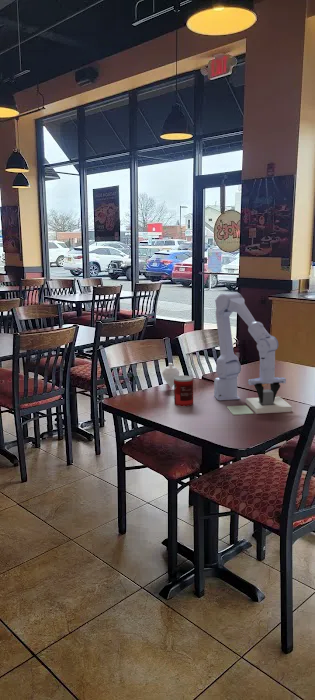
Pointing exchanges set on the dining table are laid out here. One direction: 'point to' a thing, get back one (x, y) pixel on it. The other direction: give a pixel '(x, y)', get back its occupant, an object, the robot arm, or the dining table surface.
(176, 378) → the canned food
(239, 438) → the dining table surface
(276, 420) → the dining table surface
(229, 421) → the dining table surface
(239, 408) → the mat
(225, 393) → the robot arm
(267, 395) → the gray rectangular block
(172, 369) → the spinning top
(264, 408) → the socket block
